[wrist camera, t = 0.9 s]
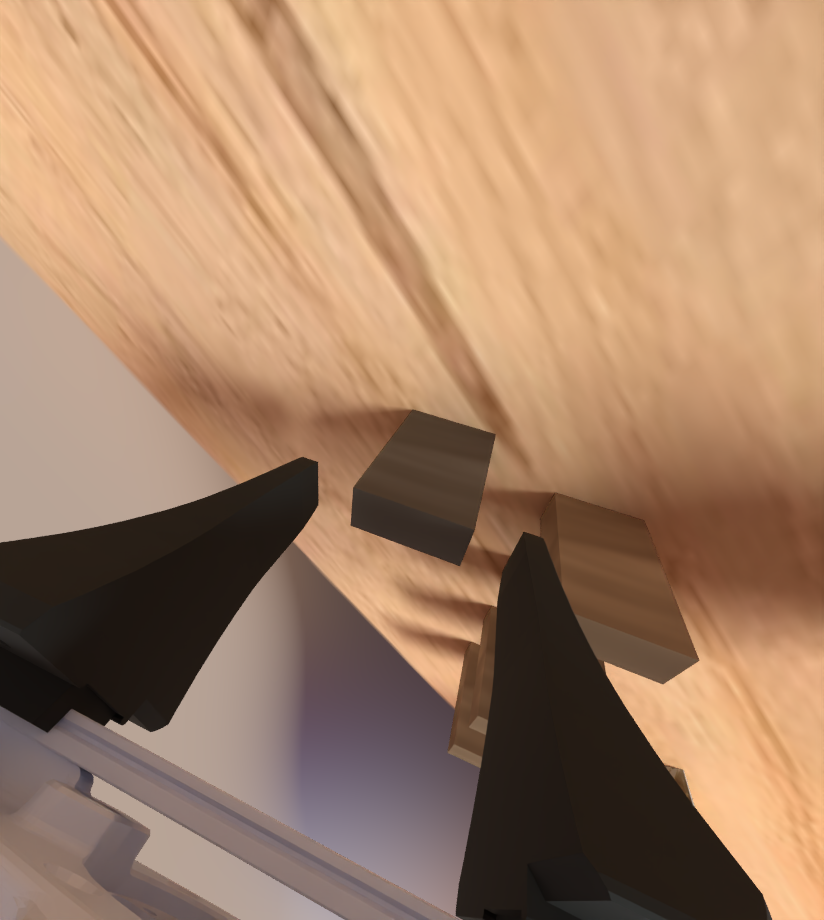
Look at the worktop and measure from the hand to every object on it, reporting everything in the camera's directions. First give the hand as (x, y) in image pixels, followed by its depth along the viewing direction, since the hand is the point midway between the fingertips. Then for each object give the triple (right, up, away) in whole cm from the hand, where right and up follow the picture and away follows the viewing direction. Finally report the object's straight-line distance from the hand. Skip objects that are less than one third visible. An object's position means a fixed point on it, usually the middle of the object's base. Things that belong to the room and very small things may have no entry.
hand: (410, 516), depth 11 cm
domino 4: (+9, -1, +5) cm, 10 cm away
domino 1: (+2, +3, +5) cm, 7 cm away
